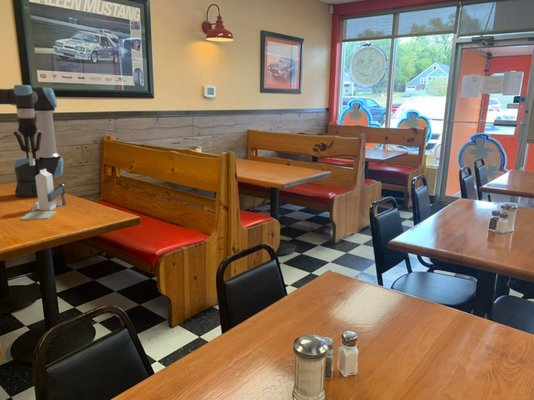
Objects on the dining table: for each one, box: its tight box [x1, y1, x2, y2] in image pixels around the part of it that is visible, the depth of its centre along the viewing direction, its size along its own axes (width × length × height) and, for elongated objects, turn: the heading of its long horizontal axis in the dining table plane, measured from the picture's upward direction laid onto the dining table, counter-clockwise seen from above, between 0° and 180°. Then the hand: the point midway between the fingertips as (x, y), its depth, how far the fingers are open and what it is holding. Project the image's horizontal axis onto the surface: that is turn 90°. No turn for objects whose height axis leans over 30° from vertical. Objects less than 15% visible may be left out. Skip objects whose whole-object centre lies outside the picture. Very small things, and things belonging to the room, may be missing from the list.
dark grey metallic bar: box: [47, 183, 66, 202], centre depth 222 cm, size 23×3×5 cm, turn 10°
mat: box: [20, 210, 58, 221], centre depth 213 cm, size 13×13×1 cm
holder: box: [30, 192, 67, 212], centre depth 227 cm, size 14×14×7 cm
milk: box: [35, 169, 57, 211], centre depth 223 cm, size 6×6×22 cm
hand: (32, 165), depth 207 cm, fingers closed
